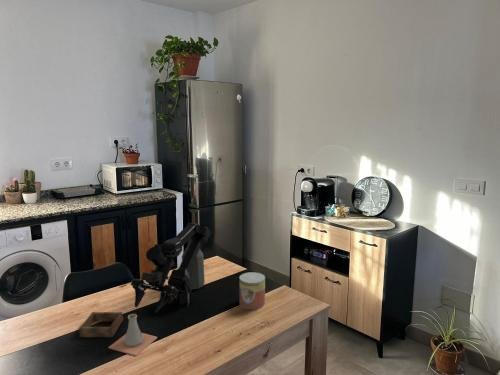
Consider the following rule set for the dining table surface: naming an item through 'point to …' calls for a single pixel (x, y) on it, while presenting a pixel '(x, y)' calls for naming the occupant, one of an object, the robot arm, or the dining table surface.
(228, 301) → the dining table surface
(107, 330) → the walnut box
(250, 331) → the dining table surface
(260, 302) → the canned food
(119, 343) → the terracotta mat
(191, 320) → the dining table surface
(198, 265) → the bottle
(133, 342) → the flask
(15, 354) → the dining table surface
